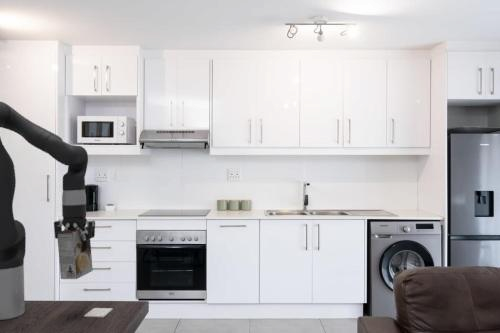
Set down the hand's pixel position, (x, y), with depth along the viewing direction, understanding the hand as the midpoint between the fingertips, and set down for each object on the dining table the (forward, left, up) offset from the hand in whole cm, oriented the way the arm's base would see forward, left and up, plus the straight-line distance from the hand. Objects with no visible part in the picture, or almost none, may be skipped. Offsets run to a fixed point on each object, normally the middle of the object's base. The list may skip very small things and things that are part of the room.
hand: (75, 250), depth 132 cm
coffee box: (0, 0, -9) cm, 9 cm away
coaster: (+6, +3, -23) cm, 24 cm away
